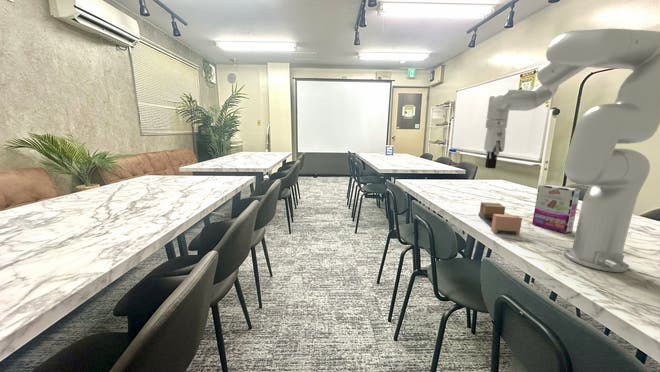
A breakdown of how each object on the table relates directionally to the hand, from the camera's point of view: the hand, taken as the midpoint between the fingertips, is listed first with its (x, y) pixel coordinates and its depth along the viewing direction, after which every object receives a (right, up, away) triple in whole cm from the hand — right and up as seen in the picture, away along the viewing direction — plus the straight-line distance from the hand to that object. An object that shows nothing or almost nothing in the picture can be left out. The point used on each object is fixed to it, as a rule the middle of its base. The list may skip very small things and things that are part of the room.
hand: (490, 167), depth 111 cm
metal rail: (-4, -23, -9) cm, 25 cm away
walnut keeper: (-2, -21, -5) cm, 21 cm away
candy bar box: (+16, -24, -12) cm, 32 cm away
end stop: (-6, -25, -18) cm, 32 cm away
